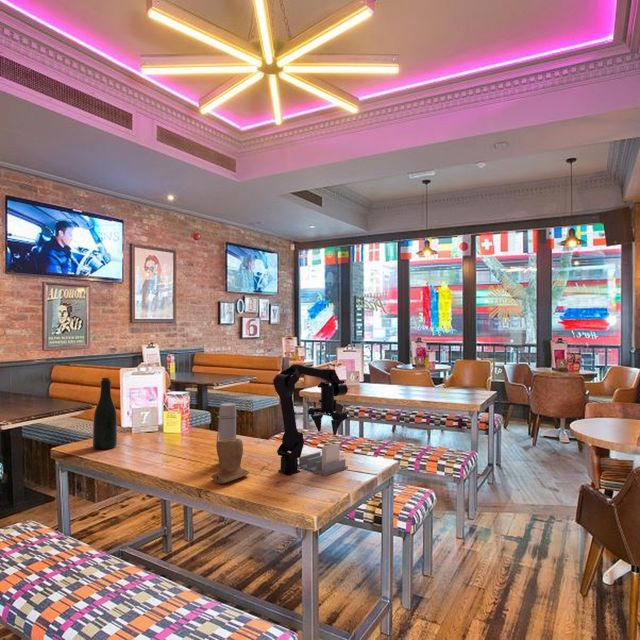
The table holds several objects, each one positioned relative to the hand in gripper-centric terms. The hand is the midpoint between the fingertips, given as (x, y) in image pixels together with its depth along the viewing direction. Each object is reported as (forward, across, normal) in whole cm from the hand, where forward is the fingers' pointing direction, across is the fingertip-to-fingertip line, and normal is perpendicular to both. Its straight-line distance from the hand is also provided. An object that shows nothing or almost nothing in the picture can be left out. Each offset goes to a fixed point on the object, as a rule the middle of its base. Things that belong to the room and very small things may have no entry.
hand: (327, 433), depth 203 cm
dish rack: (+12, -5, +8) cm, 15 cm away
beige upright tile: (+11, -10, +8) cm, 17 cm away
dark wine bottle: (+12, +87, +61) cm, 107 cm away
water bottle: (+12, +27, +34) cm, 45 cm away
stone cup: (+12, +10, +44) cm, 47 cm away
